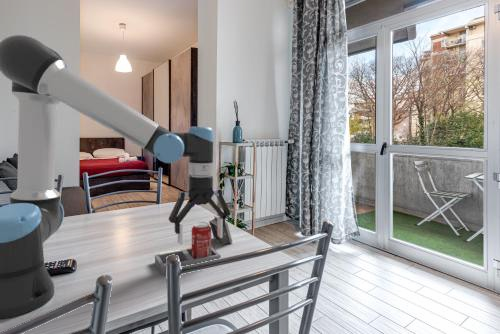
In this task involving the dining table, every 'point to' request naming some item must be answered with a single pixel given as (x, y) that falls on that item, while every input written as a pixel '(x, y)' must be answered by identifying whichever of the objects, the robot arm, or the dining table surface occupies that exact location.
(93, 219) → the dining table surface
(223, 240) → the electrical switch
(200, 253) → the beverage can
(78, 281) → the dining table surface
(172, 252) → the socket board
